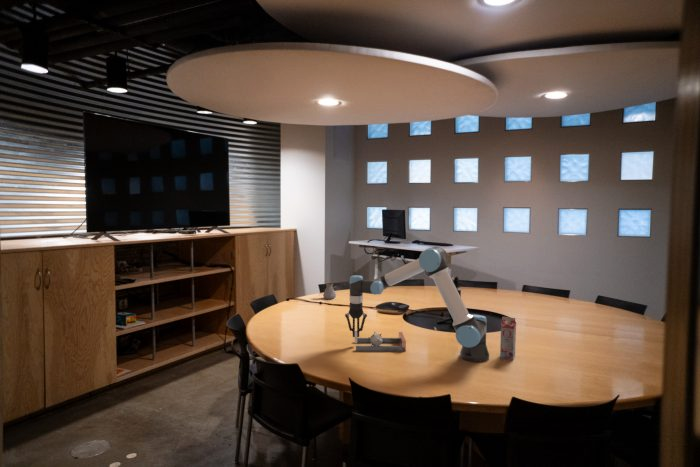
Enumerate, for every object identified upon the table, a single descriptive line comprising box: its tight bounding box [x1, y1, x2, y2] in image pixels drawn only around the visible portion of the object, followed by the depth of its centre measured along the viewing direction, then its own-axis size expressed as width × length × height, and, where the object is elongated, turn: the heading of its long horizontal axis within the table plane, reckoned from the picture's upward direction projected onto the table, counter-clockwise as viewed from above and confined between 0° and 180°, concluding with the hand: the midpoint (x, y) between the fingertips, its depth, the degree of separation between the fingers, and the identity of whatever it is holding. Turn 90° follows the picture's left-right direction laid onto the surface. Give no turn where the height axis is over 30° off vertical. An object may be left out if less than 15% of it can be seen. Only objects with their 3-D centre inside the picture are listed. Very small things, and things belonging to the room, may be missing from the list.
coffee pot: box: [322, 282, 346, 300], centre depth 383 cm, size 21×12×15 cm, turn 63°
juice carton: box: [499, 316, 517, 361], centre depth 237 cm, size 7×7×22 cm
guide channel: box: [355, 331, 407, 352], centre depth 255 cm, size 17×28×6 cm, turn 90°
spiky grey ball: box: [367, 331, 384, 346], centre depth 255 cm, size 9×8×10 cm
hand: (355, 342), depth 255 cm, fingers closed
